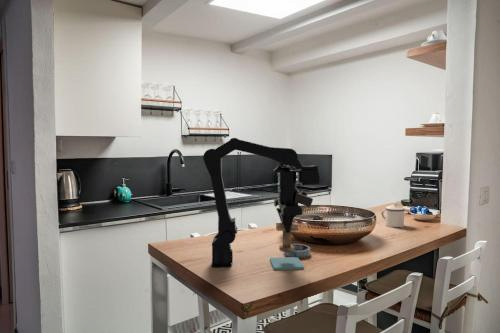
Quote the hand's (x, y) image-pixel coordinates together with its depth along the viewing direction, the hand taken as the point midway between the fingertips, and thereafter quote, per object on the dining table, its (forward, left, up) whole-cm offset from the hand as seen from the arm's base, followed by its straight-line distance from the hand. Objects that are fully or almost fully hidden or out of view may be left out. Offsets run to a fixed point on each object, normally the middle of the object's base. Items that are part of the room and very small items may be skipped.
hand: (286, 231), depth 121 cm
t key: (0, 0, -7) cm, 6 cm away
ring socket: (+6, +10, -11) cm, 16 cm away
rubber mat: (0, -1, -11) cm, 11 cm away
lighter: (+20, +33, -12) cm, 40 cm away
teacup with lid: (+64, +53, -12) cm, 84 cm away
